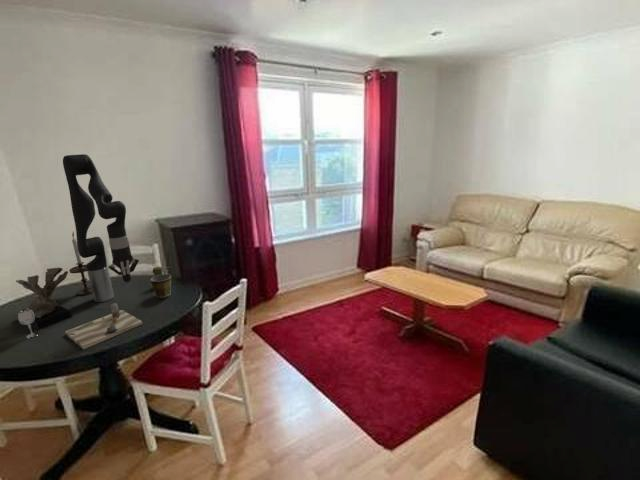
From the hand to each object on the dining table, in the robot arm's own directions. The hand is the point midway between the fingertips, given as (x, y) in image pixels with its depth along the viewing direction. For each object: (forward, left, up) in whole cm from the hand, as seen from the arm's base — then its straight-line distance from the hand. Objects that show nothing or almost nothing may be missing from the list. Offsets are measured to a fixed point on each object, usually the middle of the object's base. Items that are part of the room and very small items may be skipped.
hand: (127, 281), depth 168 cm
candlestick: (-52, -2, -17) cm, 54 cm away
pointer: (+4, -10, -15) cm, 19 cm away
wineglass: (-20, -35, -17) cm, 44 cm away
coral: (-37, -23, -17) cm, 47 cm away
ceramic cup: (-11, +20, -17) cm, 28 cm away
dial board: (+2, -14, -17) cm, 22 cm away
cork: (-24, +26, -17) cm, 39 cm away
